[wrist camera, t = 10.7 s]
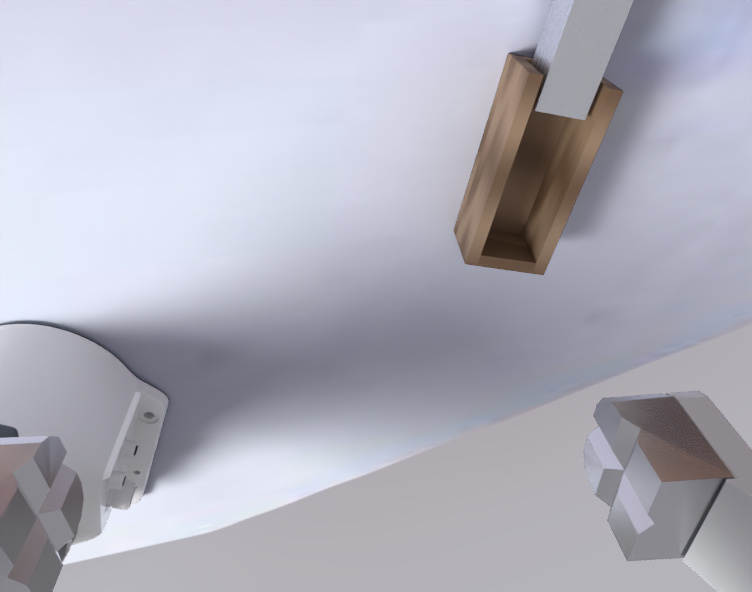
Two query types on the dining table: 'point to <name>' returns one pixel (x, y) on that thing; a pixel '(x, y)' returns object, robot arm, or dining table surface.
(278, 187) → the dining table surface
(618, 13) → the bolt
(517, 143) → the open wooden box
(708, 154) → the dining table surface
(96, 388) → the robot arm
